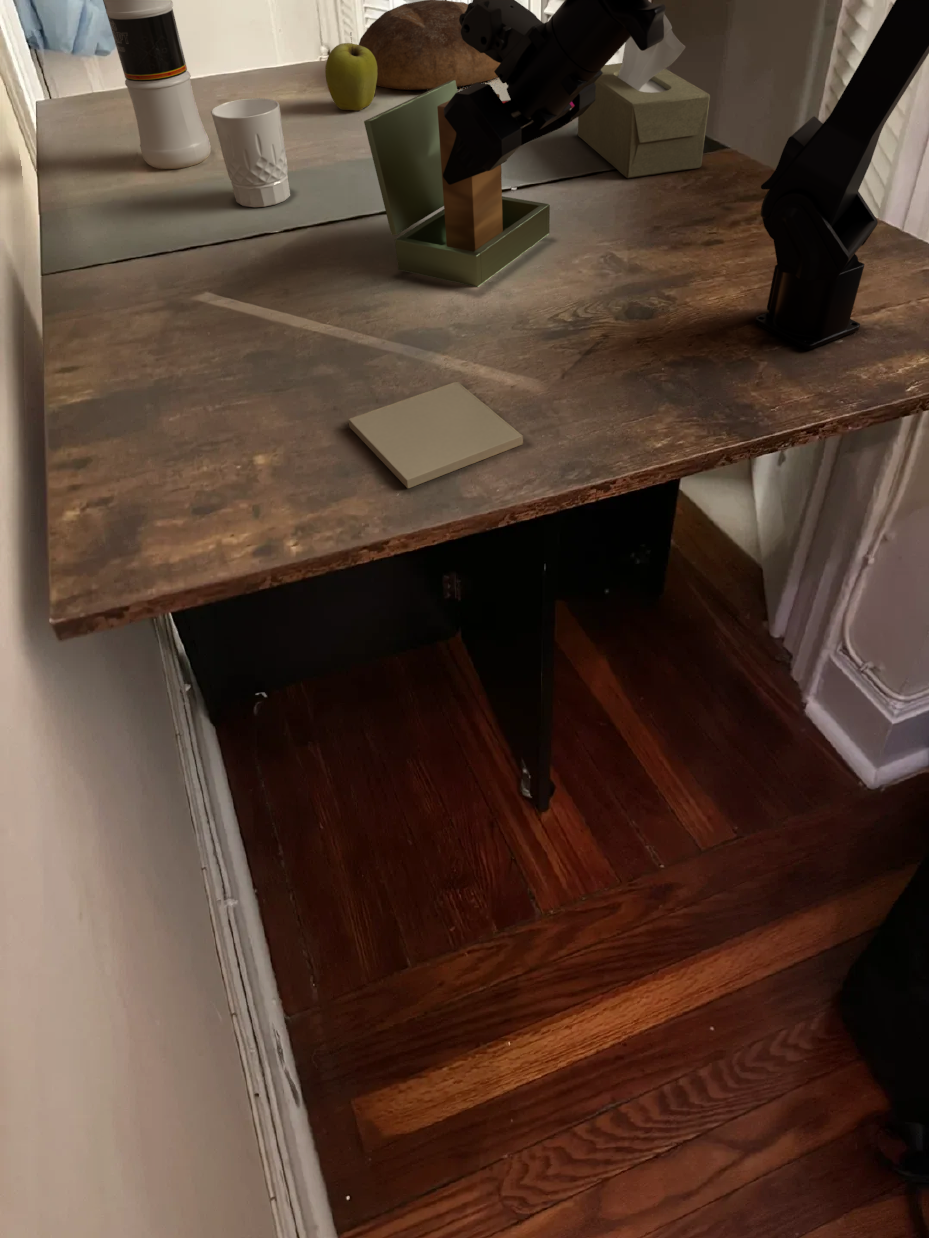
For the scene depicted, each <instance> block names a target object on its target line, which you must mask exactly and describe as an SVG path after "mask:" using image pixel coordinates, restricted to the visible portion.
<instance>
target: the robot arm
mask: <svg viewBox="0 0 929 1238" xmlns="http://www.w3.org/2000/svg"><path fill="white" fill-rule="evenodd" d="M467 4H468V7H467V10H466V11H465V13H463V14H461V15H460V18H459V22H460V24H461V26H462V27H461V31H460V32H461V36H462V39H463V40H464V41H465V42H466V43H467V44H468V45H470V46H472V47H473V48H474V49H476V50H477V51H479V52H480V53H485V54H486V55H487V56H489V57H490V58H492V59H493V60H495V61H496V62H499V63H500V65H499V66H498V67H497V69H496V70H495V71H494V72H495V73H496V75H497V76H498V77H497V78H498V79H499V80H500V82H501V83H502V84H506V85H507V87H506V92H507V94H508V97H509V99H508V100H509V101H507V102H505V103H503V102H502V101H503V100H502V99H501V97H500V98H499V97H498V95H497V94H498V93H496V91H495V89H494V88H493V87H492V85H491V84H490V83H484V82H480V83H475V84H472V85H468V86H466V87H465V88H463V89H461V90H459V91H457V93H455V95H454V96H453V97H452V99H451V100H450V101H449V102H448V104H447V105H446V106H445V108H444V117H445V118H446V119H447V121H448V122H449V123H450V125H451V126H452V128H453V129H454V130H455V132H456V138H455V141H454V145H453V148H452V150H451V153H450V156H449V159H448V161H447V164H446V167H445V170H444V172H443V178H444V179H445V181H446V182H447V183H448V184H449V185H451V184H454V183H457V182H459V181H462V180H464V179H467V178H469V177H472V176H475V175H478V174H480V173H483V172H486V171H490V170H493V169H494V168H496V167H497V166H499V165H501V166H502V164H504V163H506V162H507V161H508V159H509V158H511V157H512V156H513V154H515V153H516V152H517V150H518V149H519V148H520V147H522V146H524V145H527V144H528V143H531V142H533V141H535V140H537V139H539V138H542V137H544V136H546V135H548V134H550V133H553V132H555V131H557V130H560V129H562V128H563V127H565V126H566V125H569V123H572V122H573V120H575V119H577V118H578V116H580V115H582V114H583V113H584V112H585V111H586V110H587V109H588V108H589V107H590V106H591V104H592V103H593V102H594V101H595V94H596V85H595V83H594V82H595V81H596V80H597V79H598V78H599V77H600V76H601V75H602V74H603V72H602V71H601V69H602V68H603V67H604V65H607V63H608V62H609V61H610V60H611V59H613V57H614V56H615V55H616V54H617V52H618V51H619V50H620V49H621V48H622V47H623V46H625V43H626V41H627V40H628V39H629V38H630V37H632V39H633V40H634V42H635V43H636V45H637V46H638V48H639V49H640V50H641V51H644V50H646V49H648V48H650V47H652V46H653V45H655V44H657V43H659V42H661V41H662V40H663V38H664V22H663V17H664V14H666V13H665V12H666V10H667V7H666V5H665V4H664V3H659V4H658V3H657V4H655V3H653V2H652V1H650V0H564V1H563V2H562V3H561V4H560V5H559V7H558V8H557V10H556V11H555V12H554V13H553V15H551V17H550V18H549V20H548V21H546V22H543V21H542V20H540V19H539V18H538V17H537V15H536V14H535V13H534V12H533V11H531V10H530V9H528V8H527V7H525V6H524V5H523V4H521V3H520V2H518V1H517V0H471V2H469V3H467ZM928 56H929V0H895V1H894V2H893V4H892V6H891V8H890V9H889V11H888V13H887V14H886V16H885V18H884V20H883V22H882V23H881V24H880V27H879V29H878V31H877V32H876V34H875V36H874V38H873V39H872V40H871V43H870V44H869V46H868V48H867V49H866V52H865V53H864V55H863V56H862V58H861V60H860V61H859V64H858V66H857V67H856V69H855V70H854V72H853V74H852V76H851V78H850V80H849V81H848V82H847V83H848V84H847V85H846V87H845V89H844V90H843V91H842V94H841V95H840V97H839V99H838V100H837V102H836V104H835V106H834V108H833V109H832V111H831V113H830V114H829V116H828V117H827V118H826V119H825V121H824V122H822V121H820V119H818V118H817V117H816V116H815V115H814V116H812V117H811V118H809V120H808V121H806V122H805V123H804V124H803V125H801V126H800V127H799V128H798V129H797V130H796V131H794V132H793V134H791V135H790V136H789V137H788V138H787V140H786V142H785V145H784V147H783V149H782V151H781V154H780V157H779V160H778V163H777V166H776V167H775V170H774V171H773V173H772V174H771V176H770V177H768V179H766V180H765V181H764V182H763V183H762V184H761V185H760V189H761V190H768V191H767V193H765V195H764V198H763V201H762V203H761V206H760V217H761V218H762V222H763V225H764V226H763V227H764V230H765V231H766V233H767V234H768V236H769V237H770V238H771V239H772V240H773V246H774V250H775V251H774V252H775V259H776V263H777V264H776V265H774V269H773V275H772V281H771V284H770V289H769V295H768V300H767V304H766V310H767V311H768V312H765V313H761V314H760V315H758V316H756V317H755V319H754V324H755V325H757V326H759V327H761V328H763V329H764V330H766V331H768V332H770V333H771V334H773V335H776V336H777V337H780V338H782V339H784V340H785V341H787V342H789V343H791V344H793V345H795V346H797V347H799V348H801V349H803V350H813V349H815V348H818V347H820V346H822V345H825V344H827V343H830V342H833V341H835V340H838V339H840V338H843V337H846V336H848V335H850V334H854V333H856V332H858V331H859V330H860V328H861V323H860V322H858V321H855V320H853V319H852V313H853V310H854V305H855V302H856V298H857V294H858V291H859V287H860V283H861V280H862V276H863V272H864V269H865V263H864V262H862V261H859V257H858V256H857V252H858V251H859V249H861V247H862V246H864V245H865V243H866V242H867V240H868V239H869V238H870V236H871V235H872V234H873V232H874V230H875V229H876V227H877V226H878V224H879V221H878V219H877V216H875V214H874V213H873V210H871V208H870V206H869V205H868V203H867V202H866V201H865V199H864V198H863V196H862V195H861V193H860V191H859V190H860V188H861V186H862V183H863V180H864V179H865V176H866V175H867V172H868V169H869V167H870V165H871V163H872V160H873V156H874V154H875V152H876V151H875V150H876V148H877V145H878V142H879V139H880V137H881V133H882V131H883V128H884V126H885V124H886V123H887V121H888V119H889V118H890V116H891V115H892V114H893V112H894V110H895V109H896V107H897V105H898V104H899V102H900V101H901V99H902V97H903V95H904V94H905V92H906V90H907V89H908V88H909V86H910V84H912V81H913V80H914V78H915V76H916V75H917V73H918V72H919V70H920V68H921V67H922V66H923V64H924V62H925V60H926V59H927V57H928ZM571 102H572V103H573V104H574V105H575V106H574V107H573V108H572V109H571V110H570V108H571V107H572V106H571V105H570V103H571Z"/></svg>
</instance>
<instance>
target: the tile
mask: <svg viewBox="0 0 929 1238" xmlns="http://www.w3.org/2000/svg"><path fill="white" fill-rule="evenodd" d="M348 424H349V428H350V429H351V430H352V431H353V432H354V434H355V435H356V436H357V437H358V438H359V439H360V440H361V441H362V442H363V443H364V444H365V445H366V447H368V448H369V450H370V451H372V452H373V454H374V455H375V456H376V457H377V458H378V459H379V460H380V461H381V462H382V463H383V464H384V466H385V467H386V468H388V469H389V471H391V473H392V474H393V475H394V476H395V477H396V478H397V479H398V480H399V481H400V482H401V483H402V484H403V485H404V487H406V489H412V488H414V487H417V486H418V485H421V484H424V483H426V482H429V481H432V480H435V479H437V478H439V477H442V476H445V475H447V474H450V473H452V472H455V471H457V470H461V469H463V468H465V467H468V466H470V465H473V464H475V463H478V462H481V461H483V460H486V459H489V458H492V457H494V456H496V455H498V454H499V455H500V454H502V453H504V452H507V451H509V450H513V449H515V448H517V447H519V446H522V445H523V444H524V436H523V434H521V432H519V431H518V430H516V429H515V427H513V426H512V425H511V424H509V423H508V422H507V421H506V420H504V418H502V417H501V416H499V415H498V414H497V413H496V412H495V411H494V410H492V409H491V408H490V407H489V406H488V405H487V404H485V403H484V402H483V401H482V400H480V399H479V397H477V396H475V395H474V394H473V393H472V392H471V391H470V390H468V389H467V388H465V387H464V386H463V385H462V384H461V383H460V382H459V381H457V380H456V381H454V382H451V383H448V384H445V385H442V386H440V387H437V388H434V389H431V390H428V391H425V392H422V393H420V394H416V395H414V396H411V397H407V398H404V399H402V400H399V401H396V402H394V403H391V404H388V405H385V406H381V407H379V408H376V409H373V410H371V411H368V412H365V413H362V414H358V415H356V416H353V417H350V418H348Z"/></svg>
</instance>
